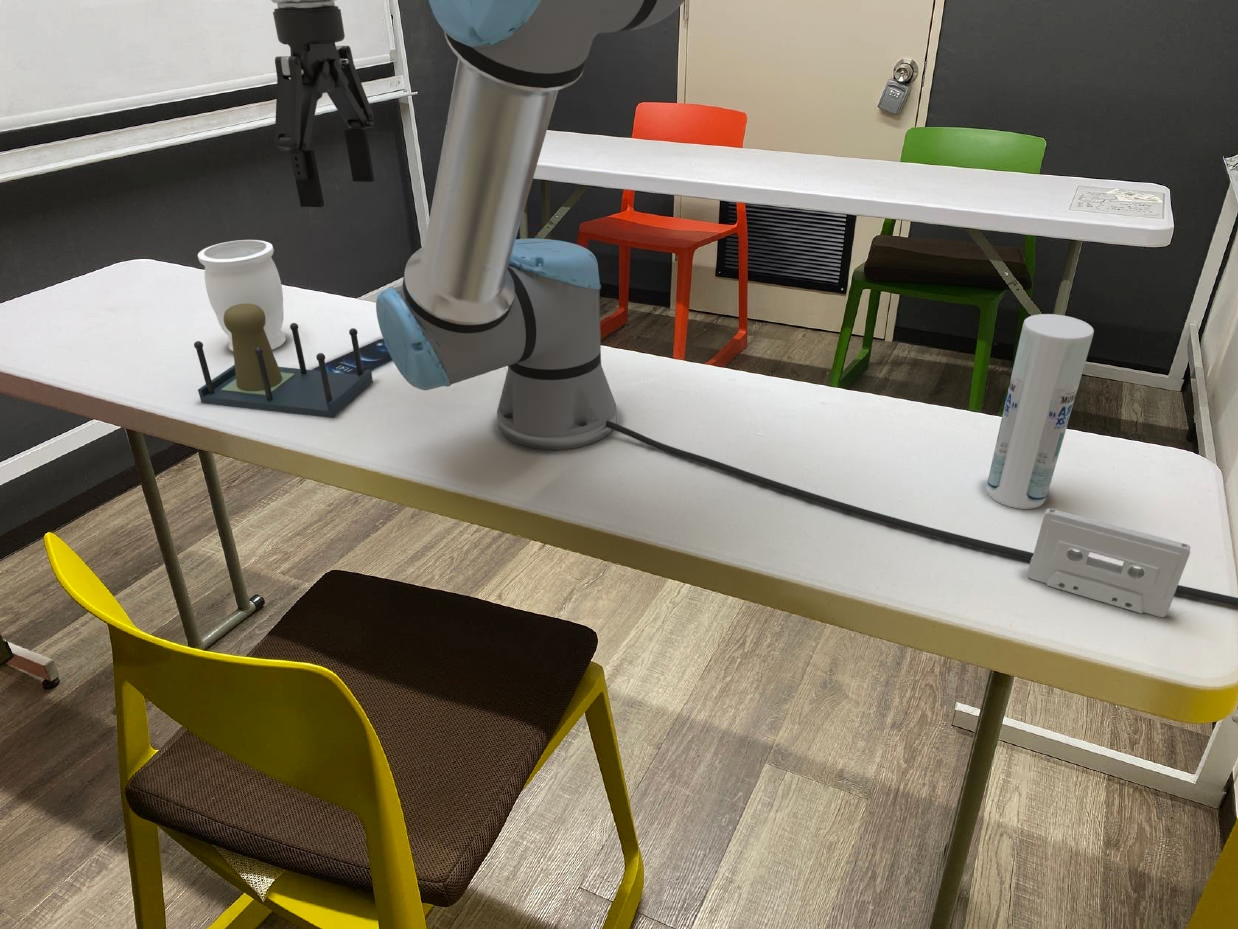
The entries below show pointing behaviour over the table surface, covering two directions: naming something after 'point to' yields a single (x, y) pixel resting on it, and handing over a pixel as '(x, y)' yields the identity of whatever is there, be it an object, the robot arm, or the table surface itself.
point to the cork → (250, 346)
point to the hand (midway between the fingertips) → (339, 193)
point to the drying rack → (289, 385)
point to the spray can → (1038, 408)
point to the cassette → (1102, 578)
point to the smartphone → (370, 358)
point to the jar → (245, 283)
